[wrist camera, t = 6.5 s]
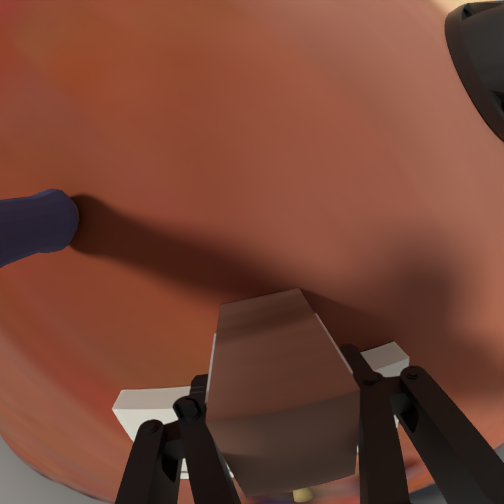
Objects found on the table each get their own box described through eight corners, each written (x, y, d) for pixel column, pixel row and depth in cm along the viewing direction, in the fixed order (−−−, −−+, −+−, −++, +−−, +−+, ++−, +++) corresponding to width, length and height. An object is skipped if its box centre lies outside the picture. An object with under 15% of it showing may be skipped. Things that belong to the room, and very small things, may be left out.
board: (121, 389, 19) (111, 409, 16) (394, 341, 19) (410, 358, 16) (165, 459, 21) (160, 478, 18) (384, 421, 21) (394, 439, 19)
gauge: (220, 304, 17) (205, 422, 8) (298, 287, 17) (360, 389, 8) (267, 458, 21) (279, 544, 11) (319, 447, 21) (345, 530, 11)
